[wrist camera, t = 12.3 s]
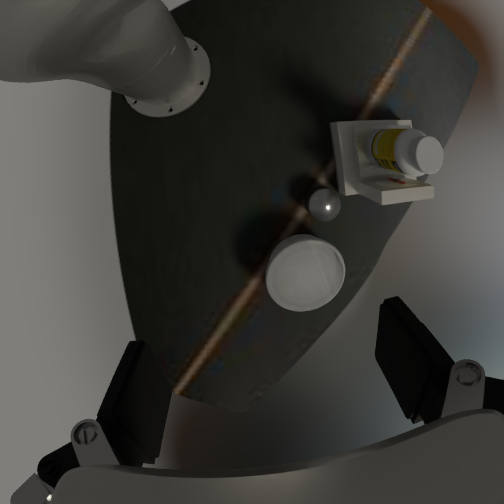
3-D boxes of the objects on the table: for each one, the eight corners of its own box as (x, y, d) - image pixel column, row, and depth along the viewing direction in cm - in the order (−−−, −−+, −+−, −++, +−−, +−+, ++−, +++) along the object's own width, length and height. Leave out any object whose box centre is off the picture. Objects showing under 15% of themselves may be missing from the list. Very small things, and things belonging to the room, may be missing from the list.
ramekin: (348, 251, 42) (360, 265, 37) (306, 304, 45) (313, 323, 40) (291, 213, 39) (298, 223, 35) (249, 273, 43) (250, 290, 38)
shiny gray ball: (302, 188, 38) (307, 191, 35) (332, 184, 38) (339, 187, 35) (306, 218, 40) (311, 223, 37) (335, 213, 40) (342, 218, 37)
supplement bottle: (364, 161, 32) (404, 170, 23) (373, 122, 30) (416, 119, 21) (397, 174, 33) (441, 187, 23) (406, 137, 31) (452, 140, 22)
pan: (349, 127, 32) (354, 126, 30) (403, 125, 32) (410, 125, 30) (355, 175, 34) (360, 177, 33) (408, 170, 34) (414, 172, 32)
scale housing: (328, 122, 35) (356, 117, 25) (401, 120, 34) (440, 118, 25) (338, 192, 38) (366, 208, 29) (407, 184, 38) (445, 197, 29)
